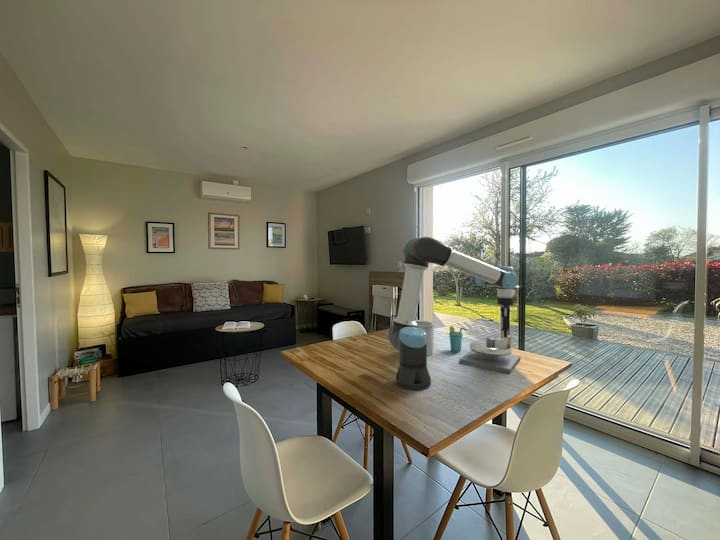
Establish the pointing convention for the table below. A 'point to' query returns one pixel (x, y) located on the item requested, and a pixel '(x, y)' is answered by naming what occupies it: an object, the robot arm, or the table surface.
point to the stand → (491, 361)
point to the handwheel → (492, 347)
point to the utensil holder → (427, 333)
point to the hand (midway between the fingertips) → (505, 343)
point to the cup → (455, 339)
